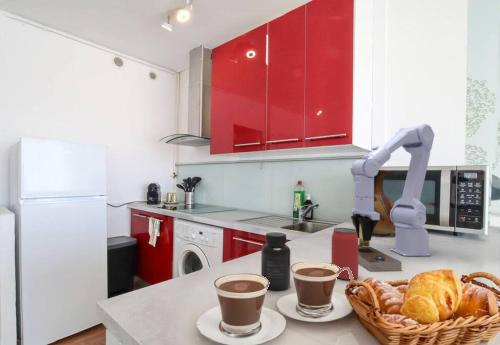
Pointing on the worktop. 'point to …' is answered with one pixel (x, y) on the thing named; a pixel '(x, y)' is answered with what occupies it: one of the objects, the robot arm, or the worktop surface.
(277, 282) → the supplement bottle
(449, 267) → the worktop surface
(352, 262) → the beer can
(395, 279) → the worktop surface
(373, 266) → the door strike plate
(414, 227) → the robot arm
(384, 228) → the ceramic pitcher
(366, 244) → the brass pin
